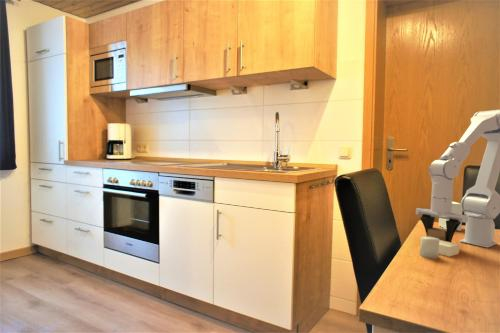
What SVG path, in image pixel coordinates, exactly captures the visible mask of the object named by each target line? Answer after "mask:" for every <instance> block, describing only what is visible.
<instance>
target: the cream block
mask: <svg viewBox="0 0 500 333" xmlns="http://www.w3.org/2000/svg"><path fill="white" fill-rule="evenodd" d="M459 254H460V244H459V243H456V242H452V241H451V242H447V241H443V240H439V255H441V256H445V257H453V256H455V255H459Z"/></svg>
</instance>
